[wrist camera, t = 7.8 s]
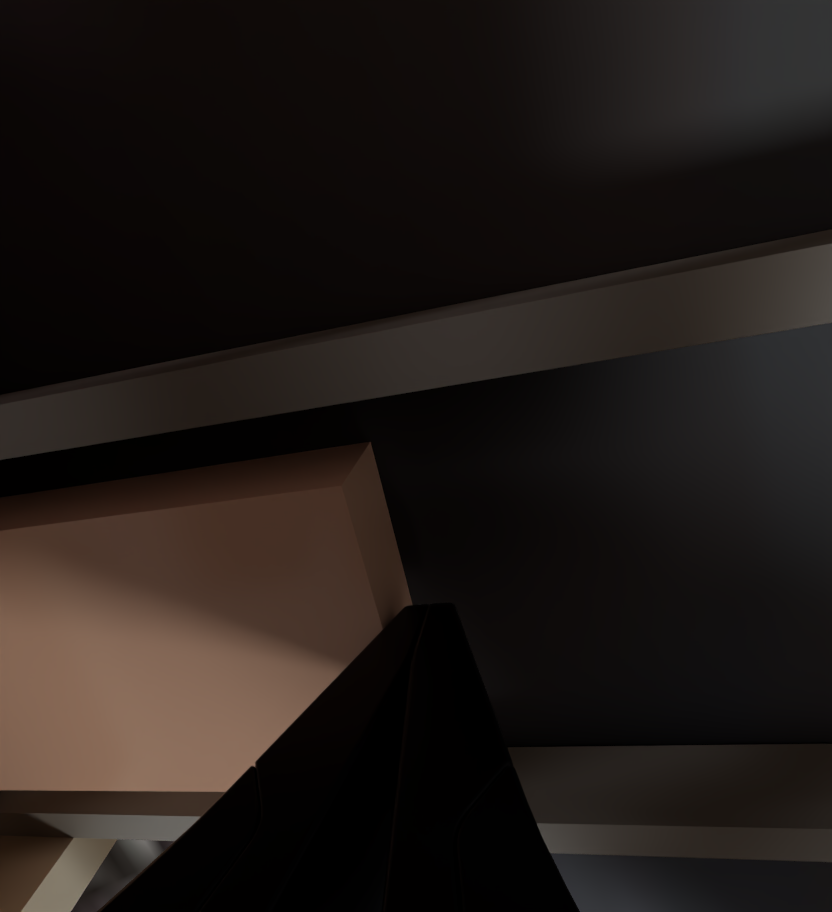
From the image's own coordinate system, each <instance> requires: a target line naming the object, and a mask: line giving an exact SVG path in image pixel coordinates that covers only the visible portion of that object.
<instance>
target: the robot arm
mask: <svg viewBox="0 0 832 912" xmlns="http://www.w3.org/2000/svg"><path fill="white" fill-rule="evenodd" d="M97 912H580V911H579V909H578V907H577V905H576V903H575V902H574V900H573V898H572V896H571V894H570V892H569V890H568V888H567V886H566V884H565V882H564V880H563V878H562V876H561V874H560V872H559V870H558V868H557V866H556V864H555V862H554V860H553V858H552V856H551V854H550V852H549V850H548V848H547V846H546V844H545V842H544V840H543V838H542V835H541V833H540V830H539V828H538V826H537V823H536V821H535V818H534V816H533V813H532V811H531V809H530V806H529V804H528V801H527V799H526V796H525V794H524V791H523V788H522V786H521V783H520V780H519V777H518V775H517V772H516V769H515V768H514V767H513V762H512V759H511V757H510V754H509V751H508V748H507V746H506V743H505V740H504V738H503V735H502V732H501V729H500V727H499V724H498V721H497V719H496V716H495V713H494V710H493V708H492V705H491V702H490V700H489V697H488V694H487V691H486V689H485V686H484V683H483V681H482V678H481V675H480V673H479V670H478V667H477V664H476V662H475V659H474V656H473V654H472V651H471V648H470V645H469V643H468V640H467V637H466V635H465V632H464V629H463V626H462V624H461V621H460V618H459V616H458V613H457V610H456V607H455V605H454V604H453V603H436V604H431V605H428V604H422V605H409V606H406V607H404V608H403V609H402V610H401V611H400V612H399V613H398V614H397V615H396V616H395V617H394V618H393V619H392V620H391V621H390V622H389V623H388V624H387V625H386V627H385V628H384V629H383V630H382V631H381V632H380V633H379V634H378V635H377V636H376V637H375V638H374V639H373V640H372V641H371V642H370V643H369V644H368V645H367V646H366V647H365V648H364V649H363V650H362V651H361V652H360V653H359V655H358V656H357V657H356V658H355V659H354V660H353V661H352V662H351V663H350V664H349V665H348V666H347V667H346V668H345V669H344V670H343V671H342V672H341V673H340V674H339V675H338V676H337V677H336V678H335V679H334V680H333V681H332V683H331V684H330V685H329V686H328V687H327V688H326V689H325V690H324V691H323V692H322V693H321V694H320V695H319V696H318V697H317V698H316V699H315V700H314V701H313V702H312V703H311V704H310V705H309V706H308V707H307V708H306V709H305V711H304V712H303V713H302V714H301V715H300V716H299V717H298V718H297V719H296V720H295V721H294V722H293V723H292V724H291V725H290V726H289V727H288V728H287V729H286V730H285V731H284V732H283V733H282V734H281V735H280V736H279V737H278V739H277V740H276V741H275V742H274V743H273V744H272V745H271V746H270V747H269V748H268V749H267V750H266V751H265V752H264V753H263V754H262V755H261V756H260V757H259V758H258V759H257V760H256V762H255V767H254V766H250V767H249V768H248V769H247V770H246V771H245V772H244V773H243V775H242V776H241V777H240V778H239V779H238V780H237V781H236V782H235V783H234V784H233V785H232V786H231V787H230V788H229V789H228V790H227V791H226V792H225V793H224V794H223V795H222V796H221V797H220V798H219V799H218V800H217V801H216V802H215V803H214V804H213V805H212V806H211V807H210V808H209V809H208V810H207V811H206V812H205V813H204V814H203V815H202V816H201V817H200V818H199V819H198V820H197V821H196V822H195V823H194V824H193V825H192V826H191V827H190V828H188V829H187V830H186V831H185V832H184V833H183V834H182V835H181V836H180V837H179V838H178V839H177V840H175V841H174V842H173V843H172V844H171V845H170V846H169V847H168V848H167V849H166V850H165V851H164V852H163V853H161V854H160V855H159V856H158V857H157V858H156V859H155V860H154V861H153V862H152V863H151V864H150V865H148V866H147V867H146V868H145V869H144V870H143V871H142V872H141V873H139V874H138V875H137V876H136V877H135V878H134V879H133V880H132V881H131V882H129V883H128V884H127V885H126V886H125V887H124V888H123V889H122V890H121V891H119V892H118V893H117V894H116V895H115V896H114V897H113V898H112V899H111V900H109V901H108V902H107V903H106V904H105V905H104V906H103V907H102V908H100V909H99V910H98V911H97Z"/></svg>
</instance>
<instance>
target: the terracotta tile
mask: <svg viewBox="0 0 832 912" xmlns="http://www.w3.org/2000/svg"><path fill="white" fill-rule="evenodd" d="M409 605H412V601H411V597H410V593H409V589H408V585H407V581H406V577H405V574H404V570H403V566H402V562H401V558H400V554H399V550H398V546H397V542H396V539H395V535H394V531H393V527H392V523H391V519H390V515H389V511H388V507H387V504H386V500H385V496H384V492H383V488H382V484H381V480H380V476H379V473H378V469H377V465H376V461H375V457H374V453H373V449H372V445H371V442H365V443H358V444H351V445H345V446H338V447H331V448H325V449H318V450H312V451H305V452H298V453H292V454H285V455H279V456H272V457H265V458H259V459H252V460H246V461H239V462H232V463H226V464H219V465H212V466H206V467H199V468H193V469H186V470H179V471H173V472H166V473H160V474H153V475H146V476H140V477H133V478H127V479H120V480H113V481H107V482H100V483H93V484H87V485H80V486H74V487H67V488H60V489H54V490H47V491H41V492H34V493H27V494H21V495H14V496H7V497H1V498H0V790H42V791H180V792H226V791H227V790H228V789H229V788H230V787H231V786H232V785H233V784H234V783H235V782H236V781H237V780H238V779H239V778H240V777H241V776H242V775H243V773H244V772H245V771H246V770H247V769H248V768H249V767H250V766H254V767H255V762H256V760H257V759H258V758H259V757H260V756H261V755H262V754H263V753H264V752H265V751H266V750H267V749H268V748H269V747H270V746H271V745H272V744H273V743H274V742H275V741H276V740H277V739H278V737H279V736H280V735H281V734H282V733H283V732H284V731H285V730H286V729H287V728H288V727H289V726H290V725H291V724H292V723H293V722H294V721H295V720H296V719H297V718H298V717H299V716H300V715H301V714H302V713H303V712H304V711H305V709H306V708H307V707H308V706H309V705H310V704H311V703H312V702H313V701H314V700H315V699H316V698H317V697H318V696H319V695H320V694H321V693H322V692H323V691H324V690H325V689H326V688H327V687H328V686H329V685H330V684H331V683H332V681H333V680H334V679H335V678H336V677H337V676H338V675H339V674H340V673H341V672H342V671H343V670H344V669H345V668H346V667H347V666H348V665H349V664H350V663H351V662H352V661H353V660H354V659H355V658H356V657H357V656H358V655H359V653H360V652H361V651H362V650H363V649H364V648H365V647H366V646H367V645H368V644H369V643H370V642H371V641H372V640H373V639H374V638H375V637H376V636H377V635H378V634H379V633H380V632H381V631H382V630H383V629H384V628H385V627H386V625H387V624H388V623H389V622H390V621H391V620H392V619H393V618H394V617H395V616H396V615H397V614H398V613H399V612H400V611H401V610H402V609H403V608H404V607H406V606H409Z"/></svg>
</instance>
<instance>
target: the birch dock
mask: <svg viewBox="0 0 832 912" xmlns="http://www.w3.org/2000/svg"><path fill="white" fill-rule="evenodd" d="M827 323H832V229H830V230H825V231H820V232H815V233H810V234H805V235H800V236H795V237H790V238H785V239H780V240H775V241H770V242H765V243H760V244H755V245H750V246H745V247H740V248H735V249H730V250H725V251H720V252H715V253H710V254H705V255H700V256H695V257H690V258H685V259H680V260H675V261H670V262H665V263H660V264H655V265H650V266H645V267H640V268H635V269H630V270H625V271H620V272H615V273H610V274H605V275H599V276H594V277H589V278H584V279H579V280H574V281H569V282H564V283H559V284H554V285H549V286H544V287H539V288H534V289H529V290H524V291H519V292H514V293H509V294H504V295H499V296H494V297H489V298H484V299H479V300H474V301H469V302H464V303H459V304H454V305H449V306H444V307H439V308H434V309H429V310H424V311H419V312H414V313H409V314H404V315H399V316H394V317H389V318H384V319H379V320H374V321H369V322H364V323H359V324H354V325H349V326H343V327H338V328H333V329H328V330H323V331H318V332H313V333H308V334H303V335H298V336H293V337H288V338H283V339H278V340H273V341H268V342H263V343H258V344H253V345H248V346H243V347H238V348H233V349H228V350H223V351H218V352H213V353H208V354H203V355H198V356H193V357H188V358H183V359H178V360H173V361H168V362H163V363H158V364H153V365H148V366H143V367H138V368H133V369H128V370H123V371H118V372H113V373H108V374H103V375H98V376H92V377H87V378H82V379H77V380H72V381H67V382H62V383H57V384H52V385H47V386H42V387H37V388H32V389H27V390H22V391H17V392H12V393H7V394H2V395H0V460H3V459H9V458H15V457H21V456H27V455H33V454H39V453H45V452H51V451H58V450H64V449H70V448H76V447H82V446H88V445H94V444H100V443H106V442H112V441H118V440H124V439H130V438H136V437H142V436H148V435H154V434H161V433H167V432H173V431H179V430H185V429H191V428H197V427H203V426H209V425H215V424H221V423H227V422H233V421H239V420H245V419H251V418H257V417H264V416H270V415H276V414H282V413H288V412H294V411H300V410H306V409H312V408H318V407H324V406H330V405H336V404H342V403H348V402H354V401H360V400H367V399H373V398H379V397H385V396H391V395H397V394H403V393H409V392H415V391H421V390H427V389H433V388H439V387H445V386H451V385H457V384H463V383H470V382H476V381H482V380H488V379H494V378H500V377H506V376H512V375H518V374H524V373H530V372H536V371H542V370H548V369H554V368H560V367H566V366H573V365H579V364H585V363H591V362H597V361H603V360H609V359H615V358H621V357H627V356H633V355H639V354H645V353H651V352H657V351H663V350H670V349H676V348H682V347H688V346H694V345H700V344H706V343H712V342H718V341H724V340H730V339H736V338H742V337H748V336H754V335H760V334H766V333H773V332H779V331H785V330H791V329H797V328H803V327H809V326H815V325H821V324H827ZM507 748H508V751H509V754H510V757H511V759H512V762H513V767H514V768H515V769H516V772H517V775H518V777H519V780H520V783H521V786H522V788H523V791H524V794H525V796H526V799H527V801H528V804H529V806H530V809H531V811H532V813H533V816H534V818H535V821H536V823H537V826H538V828H539V830H540V833H541V835H542V838H543V840H544V842H545V844H546V846H547V848H548V850H549V852H550V853H561V854H593V855H624V856H655V857H686V858H717V859H748V860H779V861H810V862H832V744H758V745H669V746H579V747H507ZM224 793H225V792H180V791H42V790H0V912H71V910H72V909H73V907H74V906H75V904H76V903H77V901H78V900H79V898H80V896H81V895H82V893H83V892H84V890H85V889H86V887H87V886H88V884H89V882H90V881H91V879H92V878H93V876H94V875H95V873H96V872H97V870H98V868H99V867H100V865H101V864H102V862H103V861H104V859H105V858H106V856H107V854H108V853H109V851H110V850H111V848H112V847H113V845H114V844H115V842H116V840H117V839H126V840H157V841H175V840H177V839H178V838H179V837H180V836H181V835H182V834H183V833H184V832H185V831H186V830H187V829H188V828H190V827H191V826H192V825H193V824H194V823H195V822H196V821H197V820H198V819H199V818H200V817H201V816H202V815H203V814H204V813H205V812H206V811H207V810H208V809H209V808H210V807H211V806H212V805H213V804H214V803H215V802H216V801H217V800H218V799H219V798H220V797H221V796H222V795H223V794H224Z"/></svg>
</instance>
